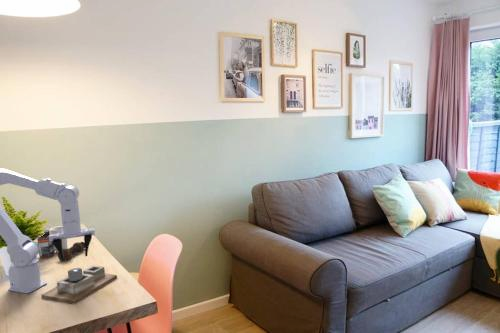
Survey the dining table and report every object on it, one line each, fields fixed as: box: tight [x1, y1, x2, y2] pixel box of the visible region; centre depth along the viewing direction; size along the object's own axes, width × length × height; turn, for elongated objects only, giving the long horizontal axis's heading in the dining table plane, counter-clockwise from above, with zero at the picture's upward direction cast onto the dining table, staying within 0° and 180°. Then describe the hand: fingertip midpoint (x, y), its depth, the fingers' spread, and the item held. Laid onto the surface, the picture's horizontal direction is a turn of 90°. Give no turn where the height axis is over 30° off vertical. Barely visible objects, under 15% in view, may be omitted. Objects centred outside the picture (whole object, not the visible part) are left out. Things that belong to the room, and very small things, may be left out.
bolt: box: [56, 241, 85, 262], centre depth 163 cm, size 6×5×15 cm
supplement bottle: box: [36, 229, 56, 259], centre depth 161 cm, size 6×6×11 cm
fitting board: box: [41, 265, 118, 304], centre depth 131 cm, size 14×20×4 cm
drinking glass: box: [49, 225, 68, 253], centre depth 169 cm, size 7×7×10 cm
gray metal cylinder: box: [67, 267, 83, 283], centre depth 128 cm, size 4×4×6 cm
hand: (74, 257), depth 134 cm, fingers open, 7 cm apart
